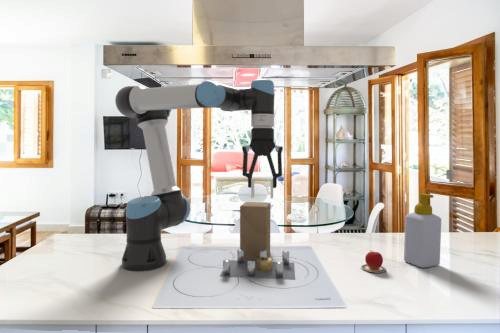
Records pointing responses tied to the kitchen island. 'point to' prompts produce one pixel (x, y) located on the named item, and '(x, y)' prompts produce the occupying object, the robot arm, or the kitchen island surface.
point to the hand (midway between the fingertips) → (262, 197)
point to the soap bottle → (422, 235)
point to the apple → (373, 262)
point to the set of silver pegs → (252, 263)
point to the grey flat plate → (242, 271)
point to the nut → (264, 264)
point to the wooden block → (254, 228)
